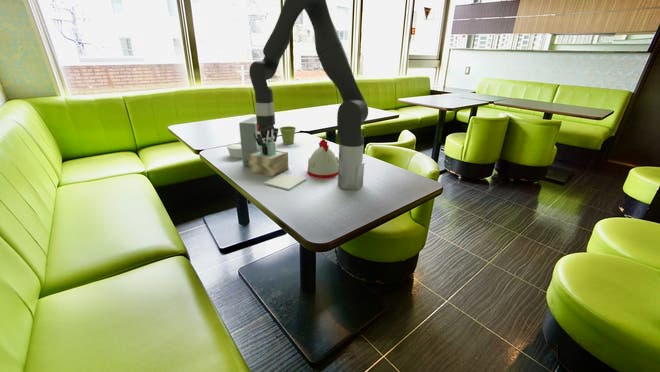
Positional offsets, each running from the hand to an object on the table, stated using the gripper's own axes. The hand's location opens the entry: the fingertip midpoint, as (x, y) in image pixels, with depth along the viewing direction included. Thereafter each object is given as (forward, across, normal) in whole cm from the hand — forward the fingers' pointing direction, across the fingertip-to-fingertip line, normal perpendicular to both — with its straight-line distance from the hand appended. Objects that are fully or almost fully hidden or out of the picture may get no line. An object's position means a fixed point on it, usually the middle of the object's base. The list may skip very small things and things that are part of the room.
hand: (268, 153), depth 130 cm
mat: (+8, -7, -14) cm, 18 cm away
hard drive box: (+8, +7, +13) cm, 17 cm away
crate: (+8, 0, 0) cm, 8 cm away
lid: (+1, 0, 0) cm, 1 cm away
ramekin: (+8, +9, +26) cm, 29 cm away
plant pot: (+8, +41, +19) cm, 46 cm away
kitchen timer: (+8, +10, -22) cm, 26 cm away
